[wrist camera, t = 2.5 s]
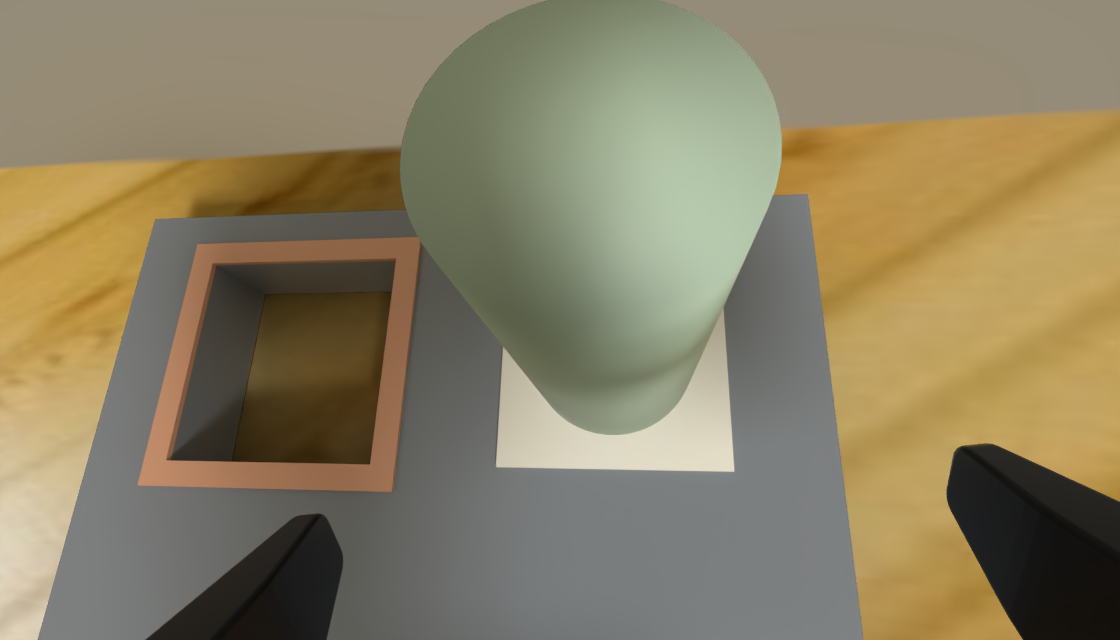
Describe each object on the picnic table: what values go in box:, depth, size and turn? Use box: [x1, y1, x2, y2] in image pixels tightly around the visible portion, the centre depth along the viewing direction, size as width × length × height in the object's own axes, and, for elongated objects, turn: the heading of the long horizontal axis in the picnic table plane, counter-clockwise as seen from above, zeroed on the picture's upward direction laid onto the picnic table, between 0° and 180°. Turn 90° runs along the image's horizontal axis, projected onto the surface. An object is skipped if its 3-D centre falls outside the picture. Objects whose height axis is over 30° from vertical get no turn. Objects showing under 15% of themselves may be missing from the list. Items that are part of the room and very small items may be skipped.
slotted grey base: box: [38, 194, 863, 640], centre depth 19 cm, size 24×15×3 cm, turn 88°
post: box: [400, 0, 782, 435], centre depth 13 cm, size 5×5×11 cm
